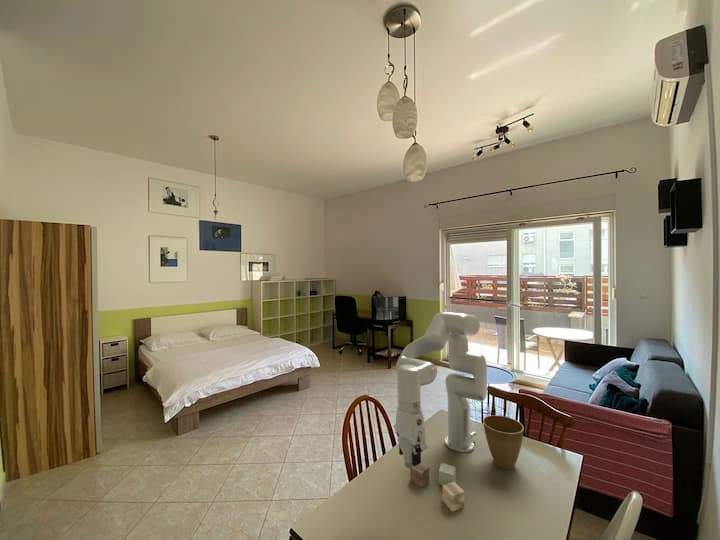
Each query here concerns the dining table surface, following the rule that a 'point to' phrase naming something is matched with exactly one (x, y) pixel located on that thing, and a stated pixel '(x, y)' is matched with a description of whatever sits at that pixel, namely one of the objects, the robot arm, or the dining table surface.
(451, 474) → the sage cube
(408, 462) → the lightbulb
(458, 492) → the beech cube
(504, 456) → the plant pot
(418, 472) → the walnut cube
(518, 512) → the dining table surface
